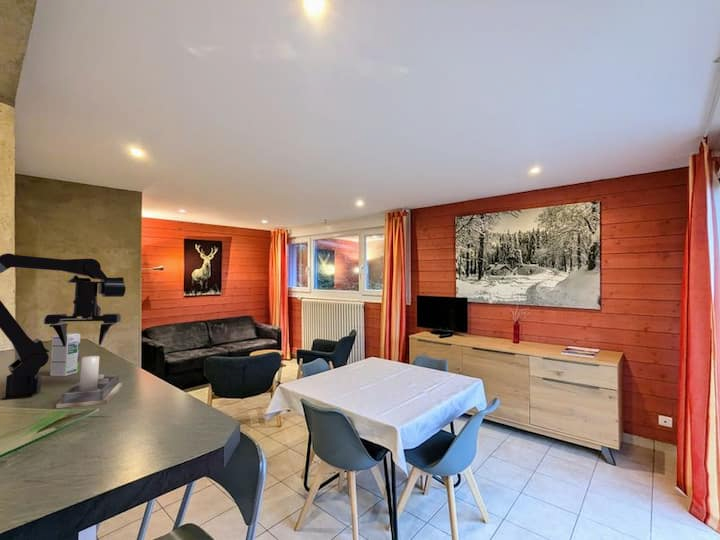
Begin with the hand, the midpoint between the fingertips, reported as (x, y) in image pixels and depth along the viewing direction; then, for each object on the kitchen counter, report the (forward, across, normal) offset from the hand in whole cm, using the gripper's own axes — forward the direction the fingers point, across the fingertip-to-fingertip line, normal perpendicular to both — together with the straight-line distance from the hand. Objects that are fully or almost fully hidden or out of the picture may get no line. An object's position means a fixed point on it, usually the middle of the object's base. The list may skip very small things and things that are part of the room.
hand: (82, 345), depth 112 cm
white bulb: (+12, -6, +17) cm, 22 cm away
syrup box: (+13, +10, -20) cm, 26 cm away
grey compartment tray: (+13, -6, +13) cm, 20 cm away
